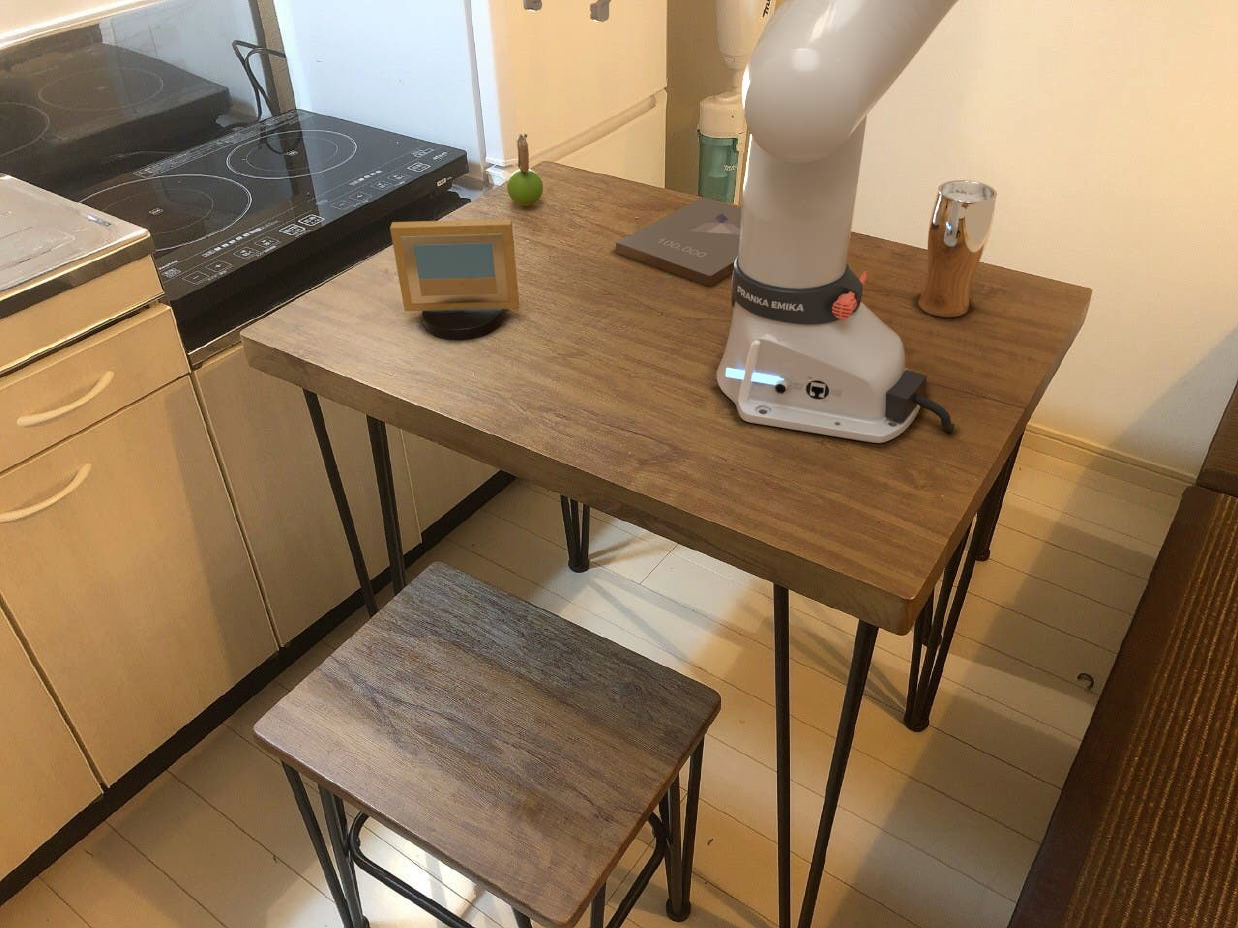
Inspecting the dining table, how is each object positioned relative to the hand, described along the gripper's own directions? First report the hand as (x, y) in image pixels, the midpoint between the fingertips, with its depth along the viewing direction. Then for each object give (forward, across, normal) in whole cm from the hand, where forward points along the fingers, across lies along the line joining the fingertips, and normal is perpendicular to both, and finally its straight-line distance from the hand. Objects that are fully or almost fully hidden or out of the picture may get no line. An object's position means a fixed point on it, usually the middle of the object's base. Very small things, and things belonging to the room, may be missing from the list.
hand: (565, 15), depth 113 cm
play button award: (+32, -12, -14) cm, 37 cm away
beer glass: (+31, -47, -14) cm, 58 cm away
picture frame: (+30, +3, +20) cm, 36 cm away
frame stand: (+32, +4, +20) cm, 38 cm away
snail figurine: (+32, +18, -12) cm, 39 cm away
